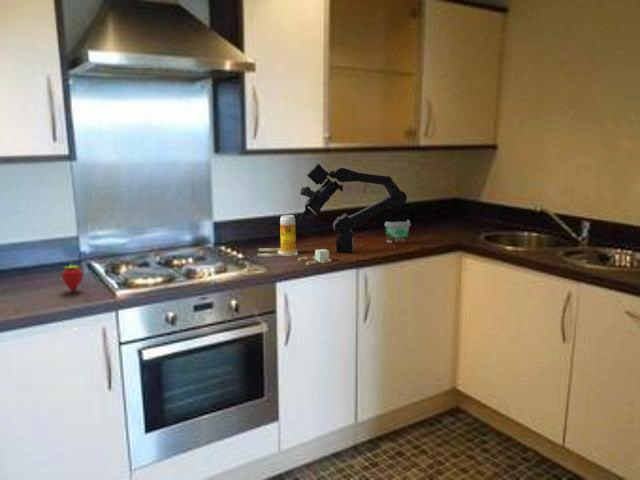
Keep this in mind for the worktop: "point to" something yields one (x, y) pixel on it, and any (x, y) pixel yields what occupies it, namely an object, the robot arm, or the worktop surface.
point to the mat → (294, 252)
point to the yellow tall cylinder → (287, 234)
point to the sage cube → (321, 255)
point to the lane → (274, 253)
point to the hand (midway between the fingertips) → (299, 221)
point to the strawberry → (72, 276)
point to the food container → (397, 232)
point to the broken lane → (313, 261)
